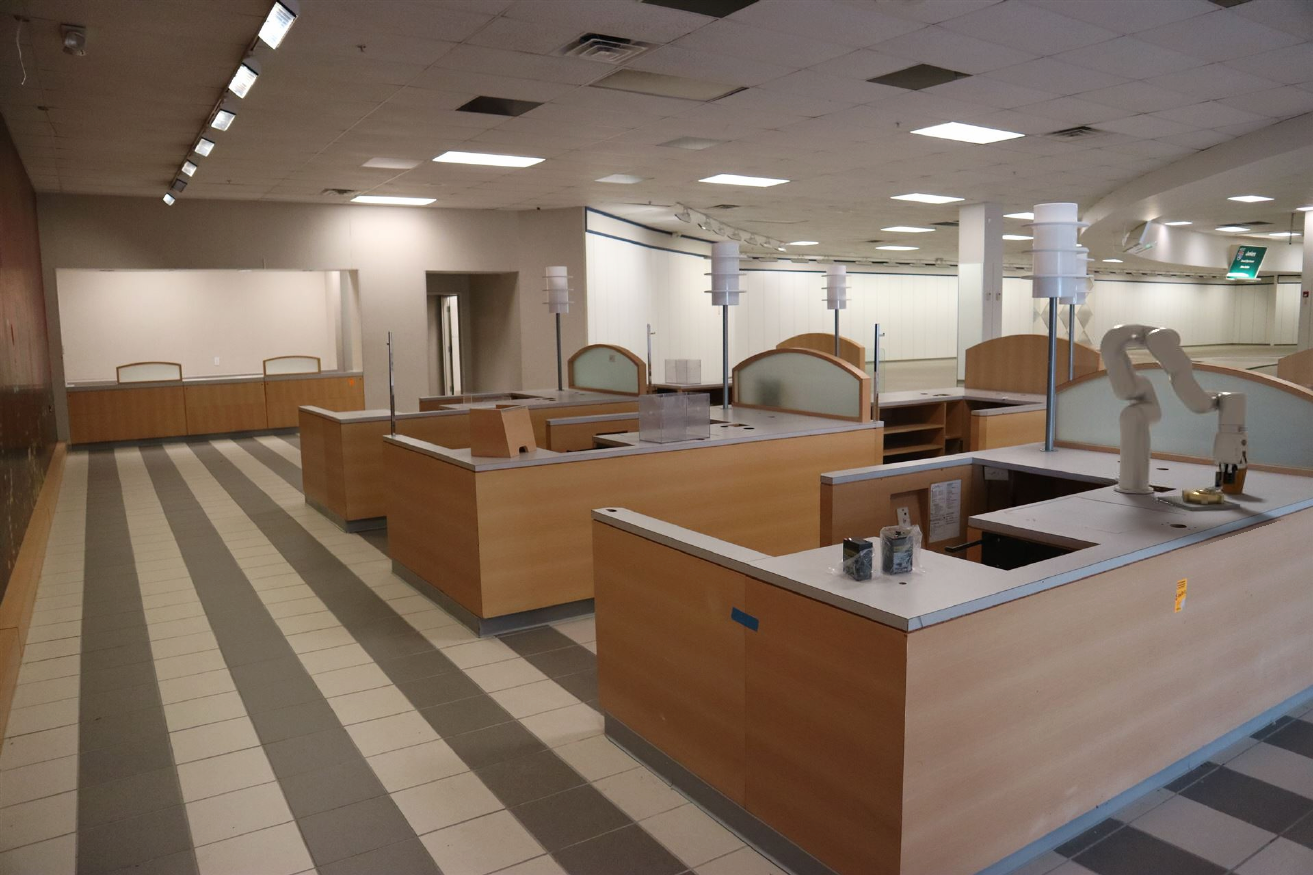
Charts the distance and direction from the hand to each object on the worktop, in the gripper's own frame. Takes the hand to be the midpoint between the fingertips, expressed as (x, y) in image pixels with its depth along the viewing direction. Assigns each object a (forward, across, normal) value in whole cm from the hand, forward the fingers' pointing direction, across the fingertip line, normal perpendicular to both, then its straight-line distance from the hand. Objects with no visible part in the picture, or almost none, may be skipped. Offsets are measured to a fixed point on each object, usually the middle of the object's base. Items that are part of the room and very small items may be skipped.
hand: (1228, 483), depth 298 cm
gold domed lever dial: (+5, +1, +8) cm, 9 cm away
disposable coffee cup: (+6, +12, -16) cm, 21 cm away
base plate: (+6, +2, +11) cm, 13 cm away
